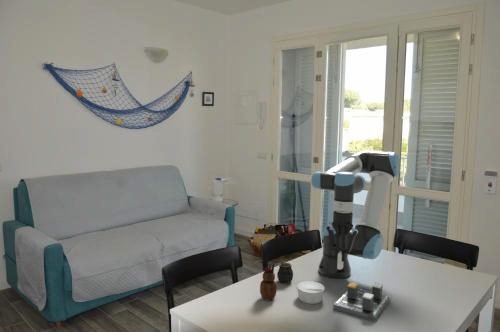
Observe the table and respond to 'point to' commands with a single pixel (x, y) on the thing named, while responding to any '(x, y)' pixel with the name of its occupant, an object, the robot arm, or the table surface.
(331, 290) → the table surface
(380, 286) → the block
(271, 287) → the wooden figurine
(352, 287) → the block
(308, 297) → the ramekin
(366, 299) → the breaker near
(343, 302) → the panel
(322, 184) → the robot arm
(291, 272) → the mate gourd
